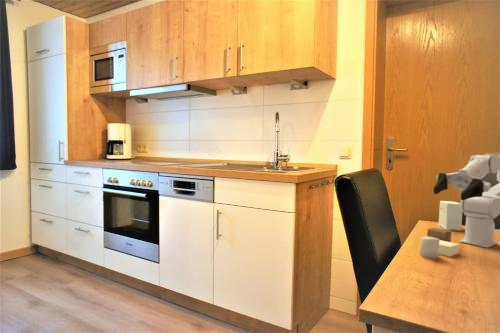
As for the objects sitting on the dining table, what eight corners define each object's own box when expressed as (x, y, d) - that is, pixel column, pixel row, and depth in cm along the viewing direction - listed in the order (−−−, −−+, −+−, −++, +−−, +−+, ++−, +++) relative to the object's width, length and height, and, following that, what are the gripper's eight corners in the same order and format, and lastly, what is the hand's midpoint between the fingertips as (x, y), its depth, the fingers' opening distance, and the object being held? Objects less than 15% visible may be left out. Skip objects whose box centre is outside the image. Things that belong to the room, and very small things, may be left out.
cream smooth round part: (424, 252, 94) (425, 235, 94) (441, 257, 90) (442, 239, 90) (416, 255, 91) (418, 237, 91) (434, 259, 88) (435, 241, 87)
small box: (461, 231, 126) (463, 204, 125) (445, 229, 127) (447, 203, 127) (453, 226, 134) (454, 201, 133) (438, 225, 135) (439, 200, 134)
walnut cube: (433, 242, 106) (434, 227, 106) (450, 246, 102) (451, 230, 102) (426, 244, 103) (427, 229, 103) (443, 248, 99) (444, 232, 99)
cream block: (436, 249, 100) (437, 239, 99) (458, 254, 95) (459, 244, 95) (427, 251, 96) (428, 241, 96) (449, 257, 91) (450, 247, 91)
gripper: (445, 160, 107) (423, 177, 101) (497, 167, 95) (475, 187, 89) (446, 179, 109) (424, 197, 103) (497, 188, 98) (475, 209, 91)
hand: (448, 193), depth 96 cm, fingers open, 7 cm apart
